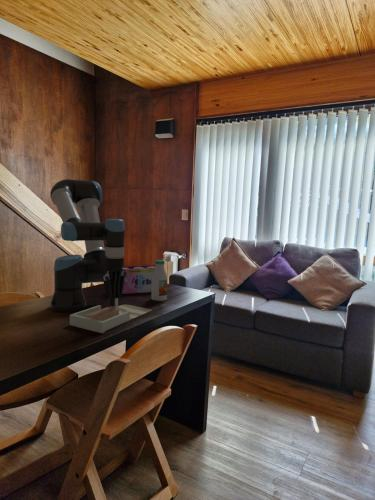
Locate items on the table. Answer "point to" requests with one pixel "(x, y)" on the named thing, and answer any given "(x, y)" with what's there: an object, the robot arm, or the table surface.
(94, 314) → the tile front
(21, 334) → the table surface
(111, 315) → the tile back
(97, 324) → the tray
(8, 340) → the table surface
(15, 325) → the table surface
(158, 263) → the milk bottle
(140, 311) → the board
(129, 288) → the gum box
